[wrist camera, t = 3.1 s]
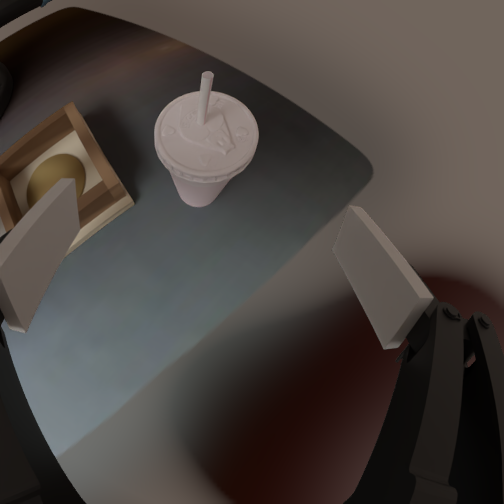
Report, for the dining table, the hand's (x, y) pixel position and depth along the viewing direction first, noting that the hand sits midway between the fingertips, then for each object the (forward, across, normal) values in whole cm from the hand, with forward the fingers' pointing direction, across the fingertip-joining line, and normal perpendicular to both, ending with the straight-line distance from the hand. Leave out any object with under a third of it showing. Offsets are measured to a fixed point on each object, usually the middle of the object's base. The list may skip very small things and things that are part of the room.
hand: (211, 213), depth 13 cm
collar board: (+10, -18, -7) cm, 22 cm away
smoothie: (+13, -1, -4) cm, 13 cm away
